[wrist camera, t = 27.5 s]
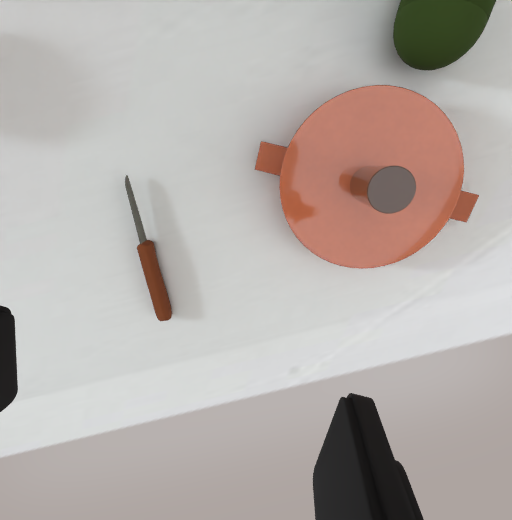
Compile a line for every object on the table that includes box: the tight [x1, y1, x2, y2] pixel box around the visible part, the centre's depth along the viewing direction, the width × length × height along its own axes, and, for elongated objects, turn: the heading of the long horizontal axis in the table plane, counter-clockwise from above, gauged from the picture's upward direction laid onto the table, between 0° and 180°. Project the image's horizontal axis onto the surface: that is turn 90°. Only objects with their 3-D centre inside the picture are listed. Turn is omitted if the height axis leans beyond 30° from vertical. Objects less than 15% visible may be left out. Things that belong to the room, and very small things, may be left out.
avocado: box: [393, 0, 496, 70], centre depth 22 cm, size 8×6×6 cm
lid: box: [280, 85, 464, 268], centre depth 23 cm, size 15×15×7 cm
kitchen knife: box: [125, 175, 172, 321], centre depth 32 cm, size 16×1×2 cm, turn 10°
